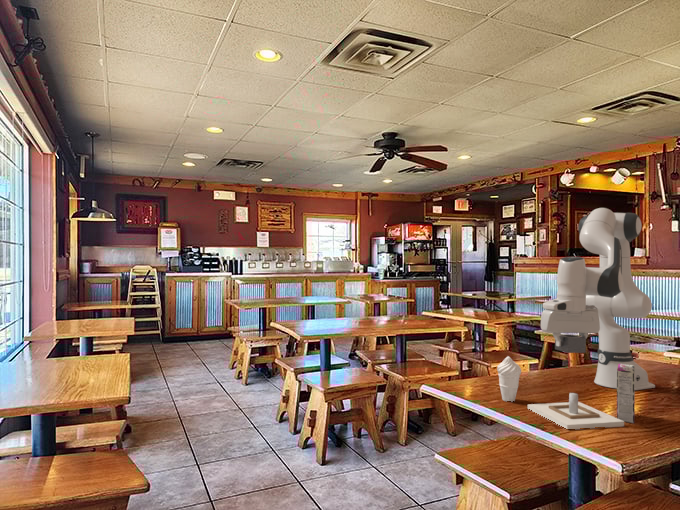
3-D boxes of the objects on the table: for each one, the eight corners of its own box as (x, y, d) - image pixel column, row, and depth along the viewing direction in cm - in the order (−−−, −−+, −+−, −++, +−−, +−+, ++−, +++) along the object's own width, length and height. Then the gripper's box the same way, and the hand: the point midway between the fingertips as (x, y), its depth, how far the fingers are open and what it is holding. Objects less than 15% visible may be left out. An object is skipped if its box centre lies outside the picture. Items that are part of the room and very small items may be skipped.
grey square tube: (571, 349, 161) (572, 334, 161) (585, 352, 154) (585, 337, 154) (554, 349, 160) (555, 334, 160) (567, 352, 153) (568, 337, 153)
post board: (578, 406, 165) (579, 384, 165) (624, 426, 145) (624, 401, 145) (527, 408, 160) (527, 386, 161) (567, 430, 141) (567, 404, 141)
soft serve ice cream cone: (503, 395, 176) (503, 352, 176) (525, 400, 170) (525, 356, 170) (492, 399, 170) (493, 355, 170) (514, 405, 164) (515, 359, 164)
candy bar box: (617, 411, 159) (617, 363, 159) (634, 414, 157) (634, 365, 157) (615, 420, 150) (616, 369, 150) (634, 424, 147) (635, 371, 147)
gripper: (591, 304, 162) (590, 344, 162) (538, 303, 158) (537, 344, 158) (605, 306, 156) (604, 347, 156) (550, 305, 152) (549, 347, 152)
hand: (570, 346), depth 157 cm, fingers closed on grey square tube, 7 cm apart
